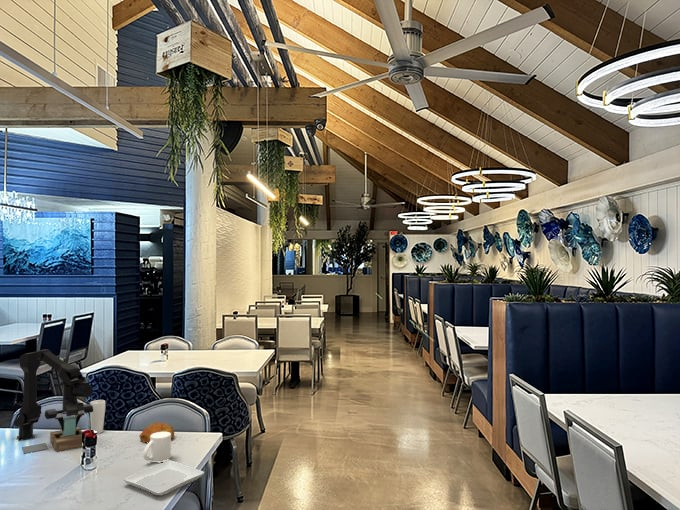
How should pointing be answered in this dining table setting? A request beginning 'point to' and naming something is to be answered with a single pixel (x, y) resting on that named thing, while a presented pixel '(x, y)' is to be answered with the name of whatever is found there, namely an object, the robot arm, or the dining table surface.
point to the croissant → (153, 429)
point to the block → (69, 426)
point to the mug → (158, 447)
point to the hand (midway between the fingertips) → (68, 430)
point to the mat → (35, 448)
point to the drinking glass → (97, 415)
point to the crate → (66, 440)
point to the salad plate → (189, 471)
